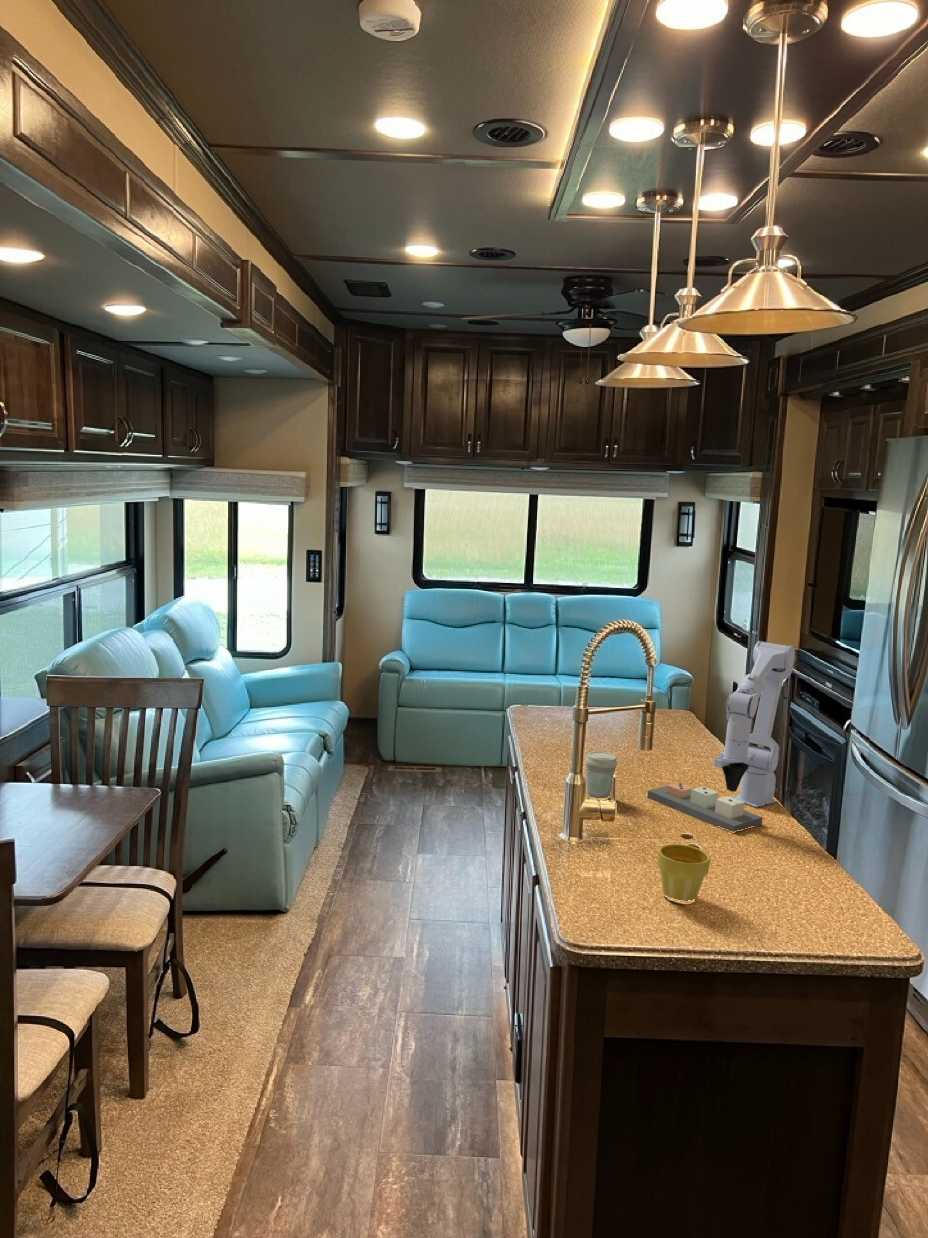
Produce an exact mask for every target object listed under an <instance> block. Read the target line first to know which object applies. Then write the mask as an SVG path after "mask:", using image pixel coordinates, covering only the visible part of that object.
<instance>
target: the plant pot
mask: <svg viewBox="0 0 928 1238" xmlns="http://www.w3.org/2000/svg"><path fill="white" fill-rule="evenodd" d="M710 863H711V857H710V855H709V854H708V853H707V852H706V851H704V850H703V849H700V848H699V847H695V846H693V845H689V844H688V845H687V844H681V843H670V844H669V843H668V844H664V845H661V847H659V848H658V853H657V866H658V869H659V870H660V879H661V885H662V886H661V887H662V894H663V893H664V894H665V895H667V896H668V897H670V898H674V899H678V900H684V901H688V900H693V899H696V898H698V895H699V892H700V890H701V887H702V884H703V881H704V878H705V877H707V875H708V874H709V870H710V865H711V864H710ZM696 900H697V899H696Z"/></svg>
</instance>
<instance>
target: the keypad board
mask: <svg viewBox="0 0 928 1238" xmlns="http://www.w3.org/2000/svg"><path fill="white" fill-rule="evenodd" d="M646 797H647V798H648V799H649V800H650V799H651V800H652V801H654V802H658V803H659V804H661V805H665V806H667V807H669V808H672V809H674V810H676V811H679V812H680V813H683V814H686V815H688V816H690V817H693V818H696V819H697V818H698V819H697V820H699V821H702V820H703V821H702V822H704V821H705V823H707V822H708V823H707V824H709V823H710V824H709V825H711V824H713V825H712V826H714V825H715V826H714V827H716V826H720V827H722V828H725V829H728V830H730V831H733V832H734V831H737V830H741V829H745V828H748V827H751V826H756V827H759V826H762V825H763V816H760V815H758V814H755V813H752V812H750V811H748V810H743V816H741V817H737V818H734V819H729V818H727V817H724V816H722V815H719V814H717V813H715V806H714V807H711V808H707V809H705V808H702V807H700V806H697V805H695V804H692V803H690V798H691V797H687V798H683V799H680V798H678V797H675V796H673V795H670V794H668V793H667V785H666V786H661V787H657V788H652V789H649V790H647V796H646ZM761 824H762V825H761ZM758 825H759V826H758Z"/></svg>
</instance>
